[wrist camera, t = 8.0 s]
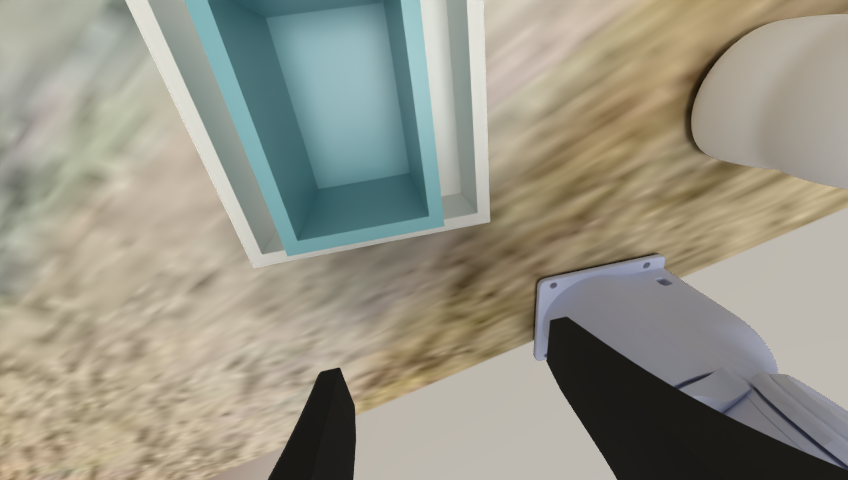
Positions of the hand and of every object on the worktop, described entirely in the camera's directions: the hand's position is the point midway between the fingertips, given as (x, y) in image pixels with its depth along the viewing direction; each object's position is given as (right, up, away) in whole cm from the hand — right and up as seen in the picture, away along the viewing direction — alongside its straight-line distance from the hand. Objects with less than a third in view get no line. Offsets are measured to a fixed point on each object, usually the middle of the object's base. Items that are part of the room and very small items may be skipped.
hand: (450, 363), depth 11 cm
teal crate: (-4, +10, +4) cm, 12 cm away
